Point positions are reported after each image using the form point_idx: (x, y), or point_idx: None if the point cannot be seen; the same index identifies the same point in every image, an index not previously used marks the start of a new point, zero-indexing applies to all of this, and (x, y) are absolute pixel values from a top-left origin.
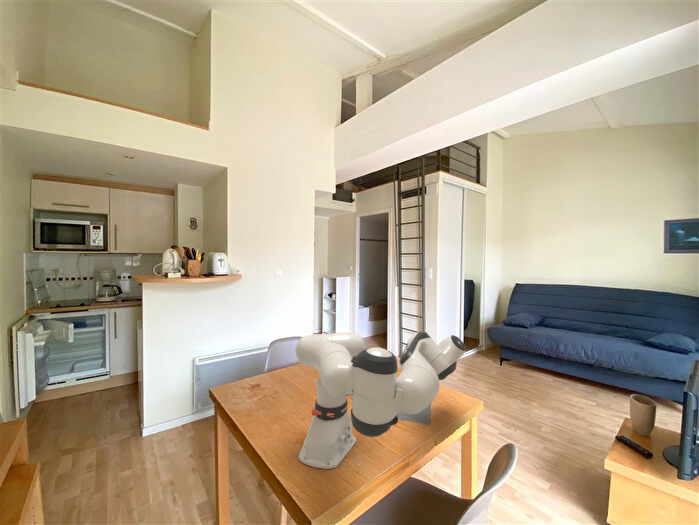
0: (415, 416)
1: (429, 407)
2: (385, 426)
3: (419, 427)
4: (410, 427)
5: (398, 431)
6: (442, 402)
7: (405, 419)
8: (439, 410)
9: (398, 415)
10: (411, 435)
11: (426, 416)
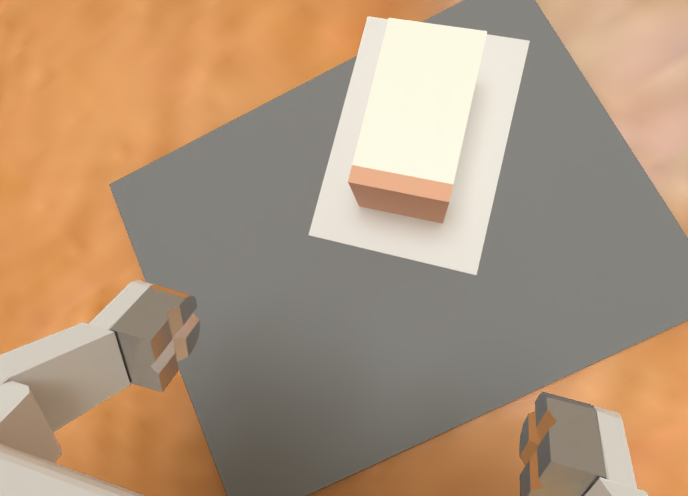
0: (264, 381)
1: (470, 408)
2: None
3: (180, 463)
4: (142, 410)
5: None
6: (670, 454)
7: None
8: (509, 489)
9: (195, 272)
10: (69, 461)
11: (322, 451)
